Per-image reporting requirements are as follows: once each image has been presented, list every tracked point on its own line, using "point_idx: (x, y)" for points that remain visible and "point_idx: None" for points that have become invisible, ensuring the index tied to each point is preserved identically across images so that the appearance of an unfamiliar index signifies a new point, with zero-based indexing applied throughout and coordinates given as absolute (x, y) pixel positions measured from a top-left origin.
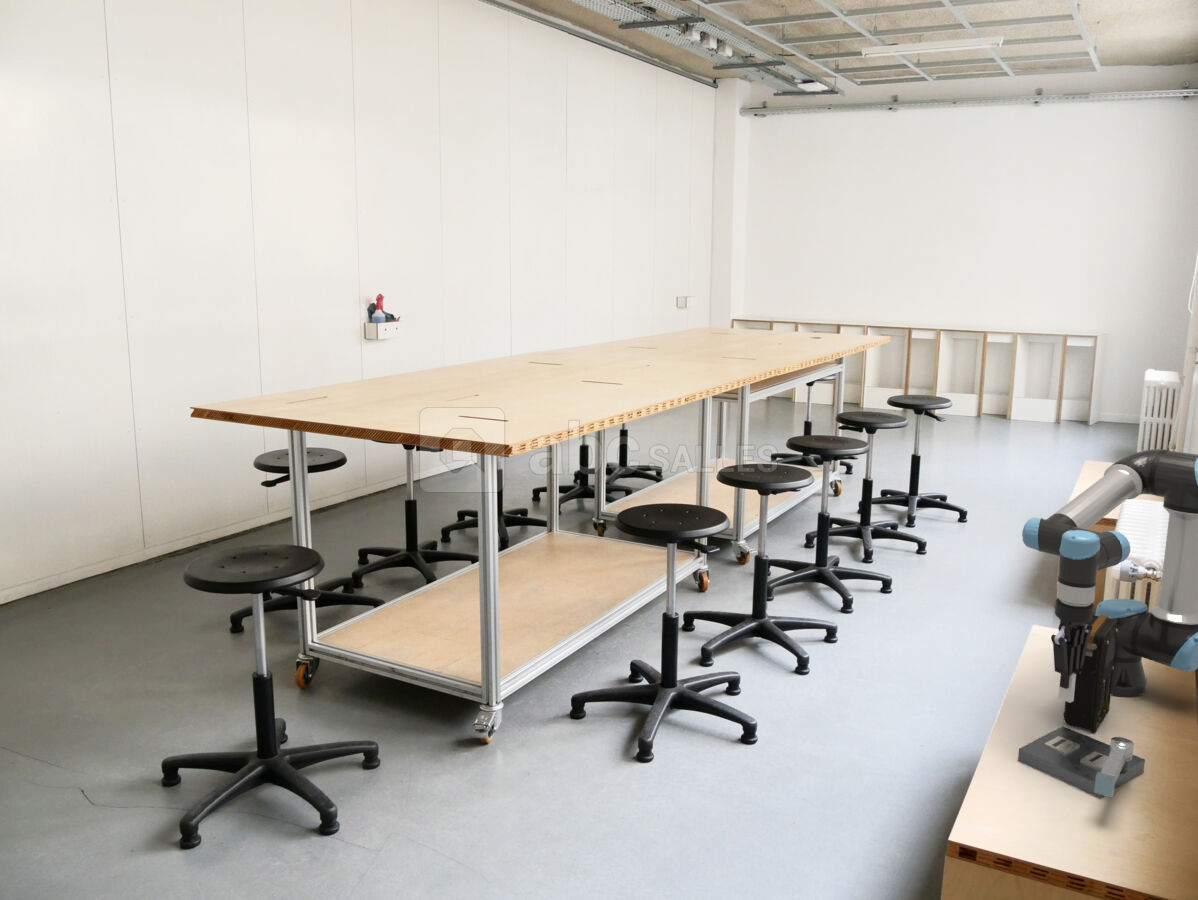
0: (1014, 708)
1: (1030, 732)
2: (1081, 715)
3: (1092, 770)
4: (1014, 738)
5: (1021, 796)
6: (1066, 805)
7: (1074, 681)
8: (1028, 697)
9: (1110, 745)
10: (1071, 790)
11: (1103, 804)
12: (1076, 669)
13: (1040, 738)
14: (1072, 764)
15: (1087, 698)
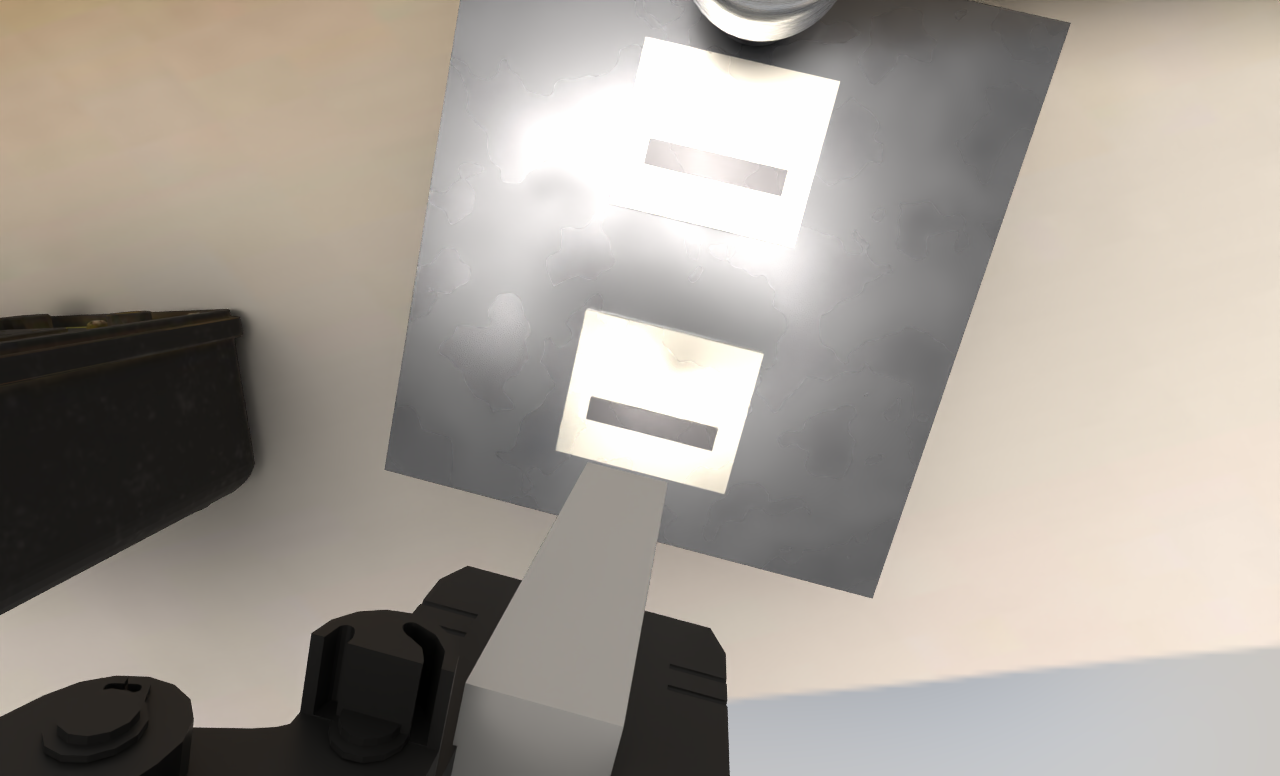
0: None
1: None
2: (186, 411)
3: (881, 141)
4: None
5: (1276, 430)
6: (1238, 192)
7: (548, 601)
8: None
9: (816, 1)
10: (1026, 222)
11: (1091, 13)
12: (381, 764)
13: None
14: (879, 274)
15: (63, 418)
